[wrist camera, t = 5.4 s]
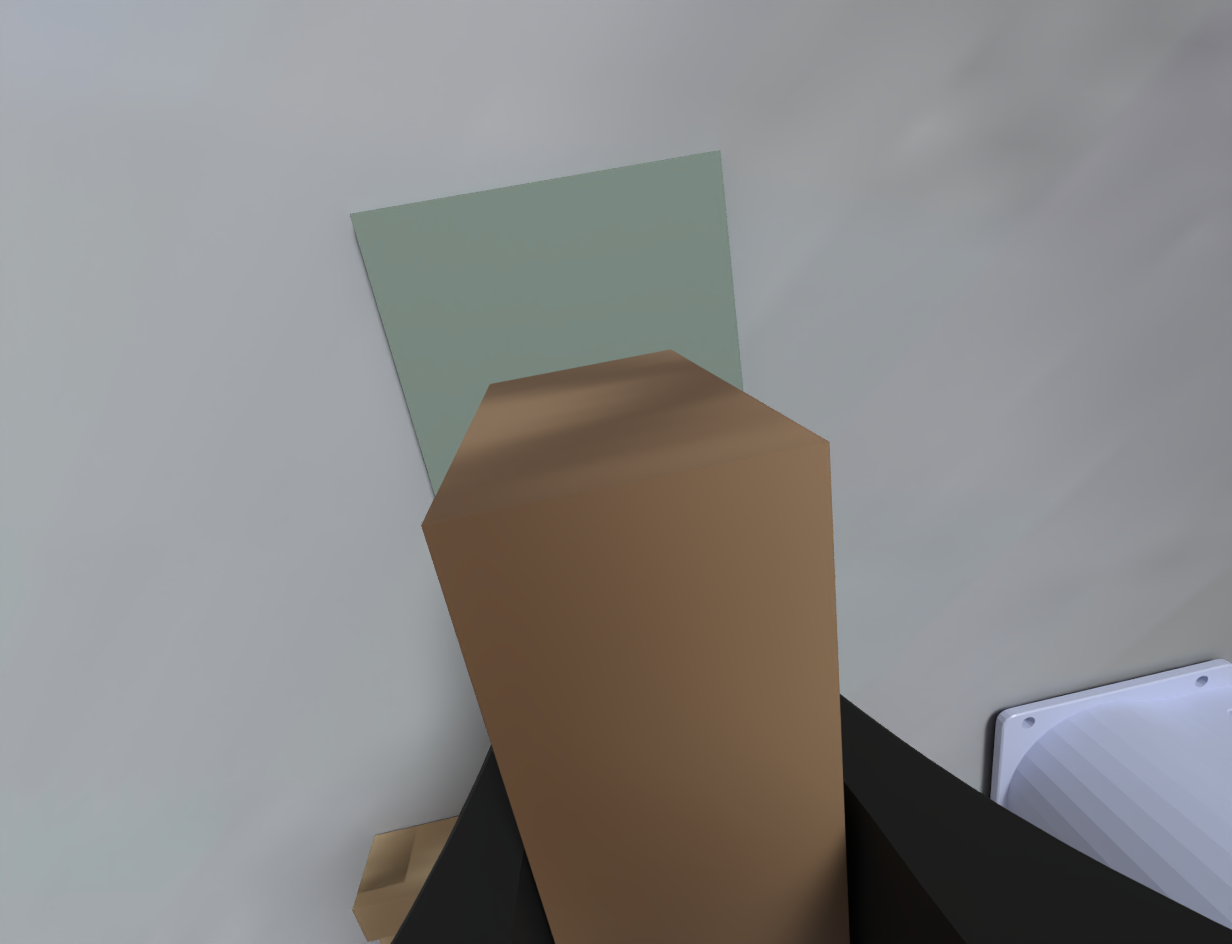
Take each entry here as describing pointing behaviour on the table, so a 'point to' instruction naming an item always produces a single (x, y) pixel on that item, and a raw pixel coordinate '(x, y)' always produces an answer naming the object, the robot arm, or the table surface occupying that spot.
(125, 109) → the table surface
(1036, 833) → the robot arm
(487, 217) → the rubber mat
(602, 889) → the tall brown wooden post
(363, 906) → the oak rack
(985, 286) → the table surface
